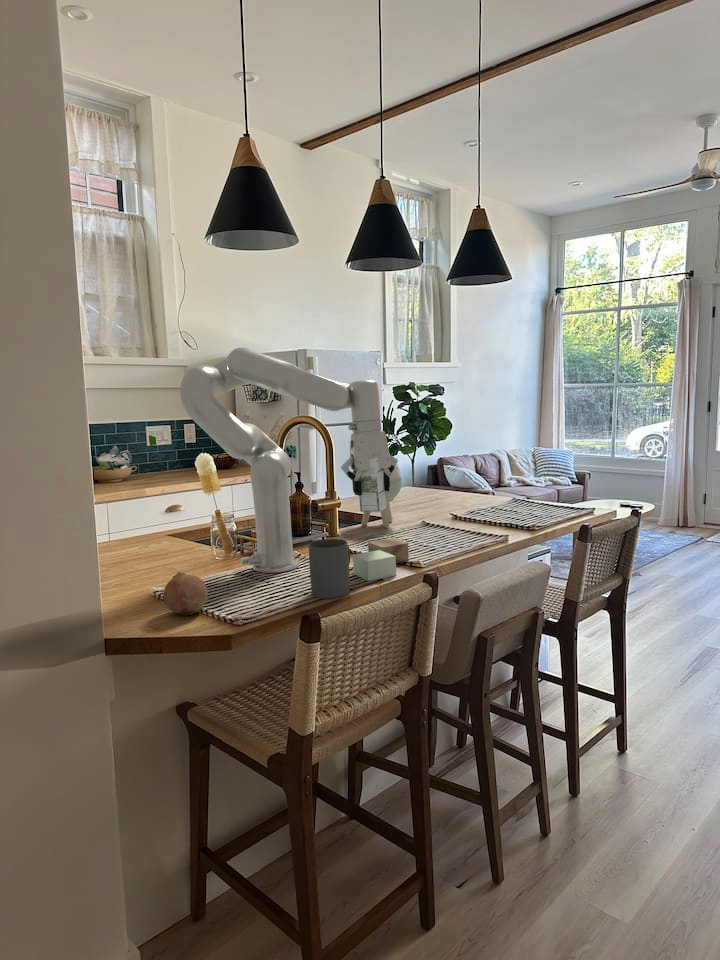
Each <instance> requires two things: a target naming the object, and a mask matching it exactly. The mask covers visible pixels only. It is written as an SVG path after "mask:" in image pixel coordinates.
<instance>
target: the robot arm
mask: <svg viewBox="0 0 720 960" xmlns="http://www.w3.org/2000/svg"><path fill="white" fill-rule="evenodd" d="M246 384H249V385H254V386H256V387H258V388H262V389H265V390H268V391H271V392H273V393H276V394H278V395H281V396H283V397H286V398H287V397H288V398H292V399H295V400H298V401H300V402H303V403H307V404H309V405H313V406H314V407H316V408H317V407H318V408H320V409H324V410H327V411H329V412H338V411H341V410H346V409H351V410H350V411H351V418H352V419H351V424H349V425H348V427H347V428H348V430H349V431H352V433H351V436H350V442H349V458H348V459H347V460H346V461H345V462H344V463H343V464H342V465H341V466H340V469H341V470H342V471H343V473H344V474H345V476H346V477H348V479H350V480H351V481H352V491H353V492H352V493H353V494H354V495H355V496H361V495H362V488H361V481H359V478H360V475H361V473H362V472H363V471H369V470H370V459H372V458H375V457H377V458H378V463H379V469H383V473H384V488H385V491H389V490H390V489H389V487H390V478H389V476H391V473H392V471H393V470H394V468H395V466H396V464H397V465H398V461H399V460H398V459H397V458H396V457H394V456H393V455H391V454H390V448H389V444H388V440H387V439H388V438H387V435H386V432H385V431H384V430H382V419H381V407H380V395H379V393H380V392H379V384H378V382H377V381H376V380H373V379H365V380H356V381H355V380H354V381H353V382H340V381H336V380H332V379H329V378H326V377H323V376H320V375H318V374H315V373H312V372H309V371H307V370H305V369H302V368H300V367H299V366H297V365H295V364H293V363H291V362H287V361H284V360H282V359H279V358H276V357H273V356H271V355H270V356H269V355H267V354H264V353H261V352H259V351H256V350H253V349H250V348H247V347H236V348H234V349H232V350H231V351H230V352H229V354H228V356H227V358H225V359H223V360H221V361H219V362H216V363H214V364H211V365H205V364H204V365H203V364H202V365H195V366H192V367H191V368H189V369H188V370H186V372H185V373H184V375H183V377H182V379H181V382H180V388H179V393H180V395H179V396H180V400H181V404H182V406H183V408H184V410H185V412H186V413H187V415H188V416H189V417H190V418H191V419H192V421H194V423H195V424H197V425H198V426H199V428H201V429H202V430H203V431H204V432H205V433H206V434H207V435H208V436H209V437H210V438H211V439H212V440H213V441H214V442H216V444H218V445H219V446H220V447H221V449H223V450H224V452H226V453H227V454H228V455H229V457H231V458H233V459H236V460H244V461H245V462H246V463H247V465H249V466H250V473H249V474H250V483H251V484H250V485H251V491H252V497H253V507H254V518H255V520H254V521H255V532H256V535H255V536H256V548H257V551H256V550H255V551H254V553H253V554H252V555H251V556H246V557H240V564H241V565H242V566H243V565H248V566H252V569H253V571H256V572H258V573H262V574H263V573H264V574H274V573H275V574H276V573H283V572H289V571H292V570H294V569H297V568H298V567H299V566H300V560H299V559H297V558H295V557H294V551H293V550H294V549H293V533H292V520H291V519H292V518H291V505H290V504H291V503H290V494H289V493H290V492H289V485H288V477H289V476H290V473H291V471H292V460H291V459H290V457H289V455H288V454H287V453H286V452H285V451H284V450H283V449H282V448H281V447H280V446H279V445H278V444H277V443H276V442H274V441H273V440H272V439H271V438H270V437H269V436H268V435H267V434H266V433H265V432H264V431H263V430H261V428H259V427H258V426H257V425H255V424H252V423H249V422H243V421H241V420H240V419H239V418H238V417H237V416H235V415H234V414H233V413H232V412H231V411H230V410H229V408H227V407H226V406H225V405H223V403H221V402H220V401H219V400H218V398H217V397H219V396H222V395H224V394H227V393H228V392H231V391H233V390H235V389H237V388H240V387H241V386H244V385H246ZM351 470H352V471H351Z"/></svg>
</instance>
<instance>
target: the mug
mask: <svg viewBox="0 0 720 960" xmlns="http://www.w3.org/2000/svg"><path fill="white" fill-rule="evenodd" d="M350 548H351V547H350V545H349V544H348V542H347V541H346V540H344V539H339V538H325V539H318V540H314V541H311V542H310V543H309V544H308V558H309V559H308V562H309V574H310V575H309V578H310V579H309V580H310V588H311V595H312V596H313V597H315V598H316V599H317V598H318V599H324V600H325V599H326V600H330V599H339V598H341V597H345V596H347V595H348V594H349V593H350V591H351V590H350V589H351V587H350V586H351V585H350V584H351V583H350V563H351V549H350Z"/></svg>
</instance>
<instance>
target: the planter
mask: <svg viewBox="0 0 720 960" xmlns="http://www.w3.org/2000/svg"><path fill="white" fill-rule="evenodd" d="M389 478H390V487H389V489H390V490H389V491H385V500H386V508H385V509H384V510H382V511H380V517H381V522H382V527H383V528H384V529H388V528H390V523H392V522H393V520H394V519H393V515H392V514H393V513H392V510H391V505H390V502H393V501H394V500H395V498H396V497H397V496H398V495H399V493H400V491H401V489H402V475H401V470H400V467H399V465H398V463H397V464H396V466H395V468H394V470H393V471H392V473H391V476H389ZM362 513H363V514H362V518H361V526H367V525H368V524H369V523H368V522H369V518H370V517H371V513H372V512H362Z"/></svg>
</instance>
